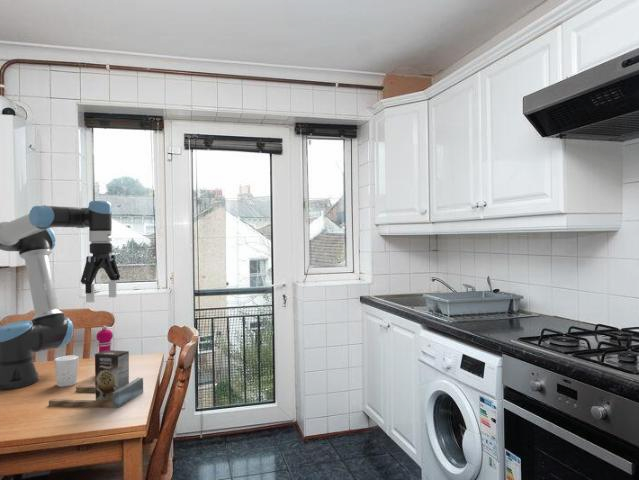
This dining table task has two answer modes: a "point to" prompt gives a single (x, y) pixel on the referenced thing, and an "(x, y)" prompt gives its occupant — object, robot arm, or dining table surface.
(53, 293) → the robot arm
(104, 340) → the pepper mill
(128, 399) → the guide channel
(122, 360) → the coffee box
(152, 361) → the dining table surface
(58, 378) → the white cup
